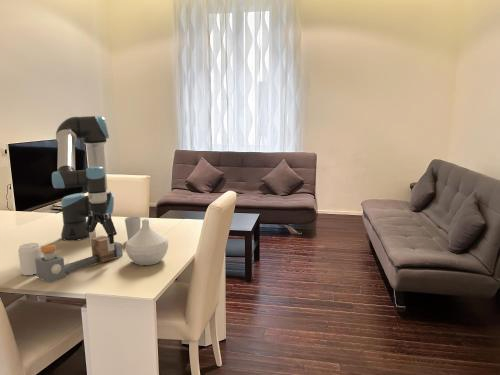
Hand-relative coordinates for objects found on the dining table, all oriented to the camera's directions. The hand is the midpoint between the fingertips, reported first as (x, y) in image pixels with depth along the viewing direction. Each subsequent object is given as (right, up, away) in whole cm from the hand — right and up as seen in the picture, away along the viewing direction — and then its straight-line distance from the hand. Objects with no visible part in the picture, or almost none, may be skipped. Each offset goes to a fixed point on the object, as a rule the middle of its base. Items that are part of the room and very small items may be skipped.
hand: (102, 248), depth 185 cm
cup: (+6, -1, +30) cm, 31 cm away
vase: (+21, -6, -2) cm, 22 cm away
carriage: (0, -6, +1) cm, 6 cm away
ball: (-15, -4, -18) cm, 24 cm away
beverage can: (-25, -9, -12) cm, 29 cm away
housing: (-14, -9, -18) cm, 25 cm away
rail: (-4, -7, -3) cm, 8 cm away
